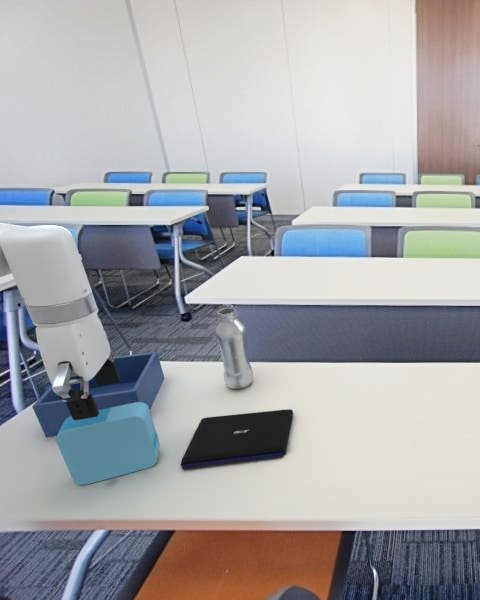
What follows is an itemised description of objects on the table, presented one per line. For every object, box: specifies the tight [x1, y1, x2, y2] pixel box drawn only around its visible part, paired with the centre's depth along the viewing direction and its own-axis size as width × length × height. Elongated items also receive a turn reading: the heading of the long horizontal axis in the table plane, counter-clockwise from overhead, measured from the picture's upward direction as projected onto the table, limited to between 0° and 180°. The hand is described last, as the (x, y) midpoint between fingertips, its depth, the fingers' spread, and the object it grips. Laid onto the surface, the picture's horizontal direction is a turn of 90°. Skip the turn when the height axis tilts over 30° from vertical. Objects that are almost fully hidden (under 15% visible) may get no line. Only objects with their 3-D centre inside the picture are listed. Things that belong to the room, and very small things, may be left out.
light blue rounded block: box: [55, 402, 161, 486], centre depth 71 cm, size 12×4×12 cm, turn 118°
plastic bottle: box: [214, 307, 254, 390], centre depth 95 cm, size 6×7×20 cm
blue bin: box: [32, 351, 165, 438], centre depth 88 cm, size 17×17×8 cm
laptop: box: [180, 408, 294, 470], centre depth 81 cm, size 16×20×2 cm
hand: (98, 399), depth 68 cm, fingers open, 9 cm apart
